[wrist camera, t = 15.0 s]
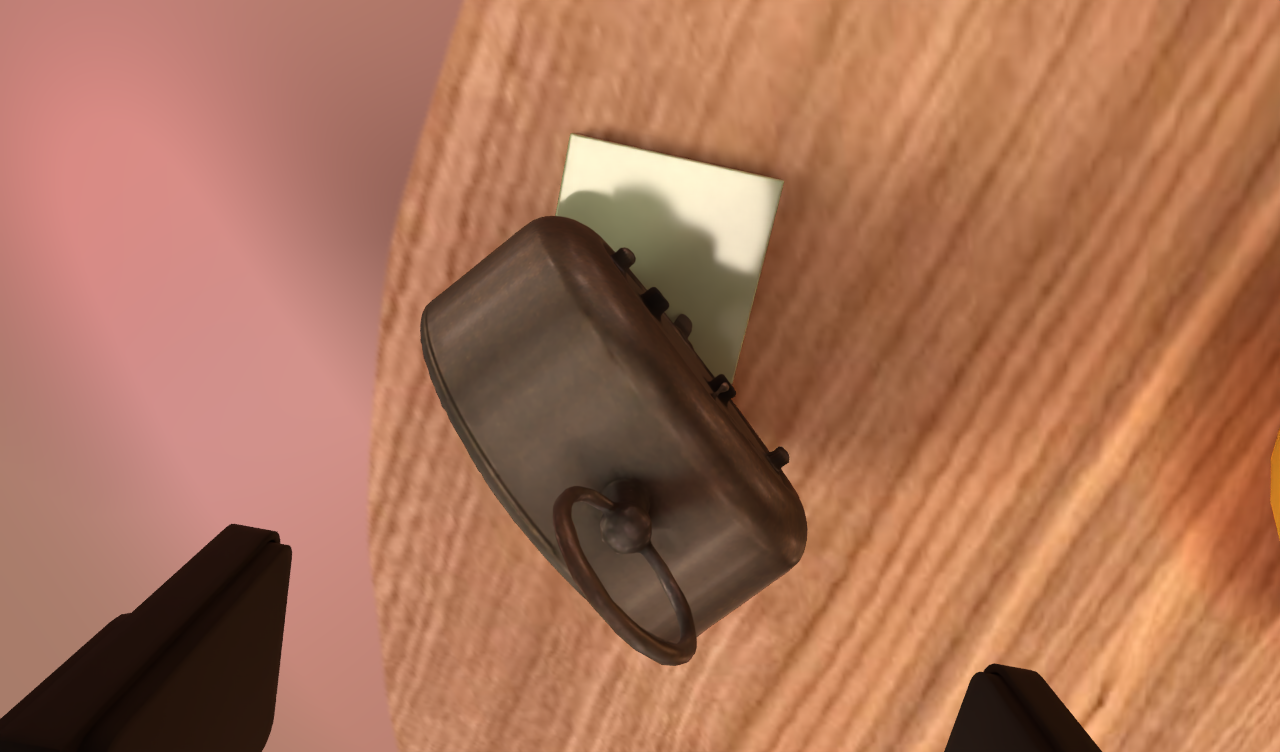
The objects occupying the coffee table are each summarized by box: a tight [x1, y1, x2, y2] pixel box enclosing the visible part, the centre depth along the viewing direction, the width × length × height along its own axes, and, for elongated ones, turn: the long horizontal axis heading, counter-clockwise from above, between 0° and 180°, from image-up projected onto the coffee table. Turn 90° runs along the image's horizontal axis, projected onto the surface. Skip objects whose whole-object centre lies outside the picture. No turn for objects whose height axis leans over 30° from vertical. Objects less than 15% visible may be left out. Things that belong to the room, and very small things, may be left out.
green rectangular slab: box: [555, 133, 784, 385], centre depth 27 cm, size 13×7×1 cm, turn 168°
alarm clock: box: [420, 216, 807, 666], centre depth 19 cm, size 11×5×16 cm, turn 38°
